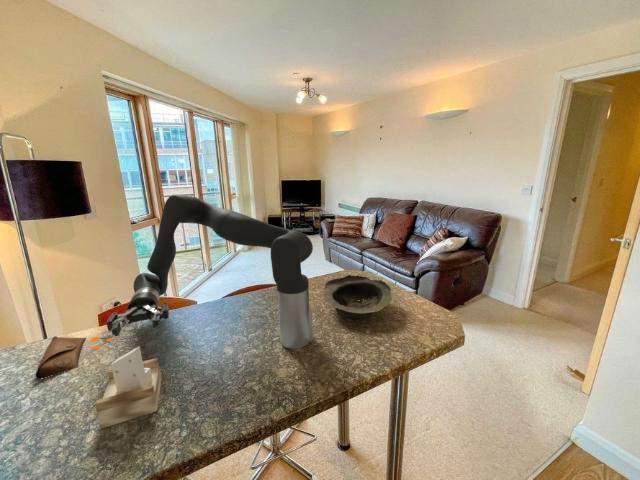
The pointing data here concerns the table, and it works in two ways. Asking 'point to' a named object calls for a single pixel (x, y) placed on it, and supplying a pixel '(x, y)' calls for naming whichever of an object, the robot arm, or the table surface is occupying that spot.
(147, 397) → the wooden step block
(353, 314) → the stone bowl
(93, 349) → the key chain
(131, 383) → the white angled block
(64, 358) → the sunglasses case
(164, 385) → the table surface
